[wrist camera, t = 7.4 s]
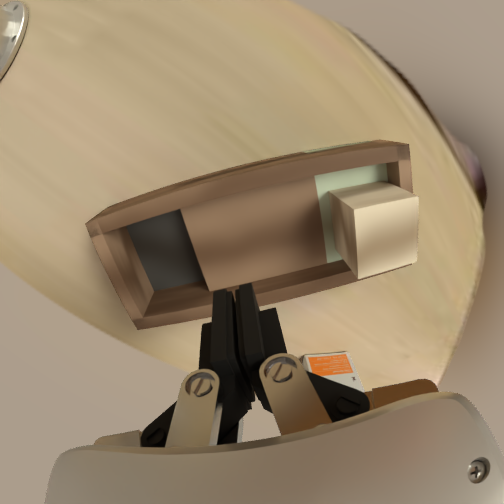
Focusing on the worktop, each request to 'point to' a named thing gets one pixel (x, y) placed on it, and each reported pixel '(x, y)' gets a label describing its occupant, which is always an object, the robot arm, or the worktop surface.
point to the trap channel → (238, 232)
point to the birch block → (375, 226)
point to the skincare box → (334, 368)
